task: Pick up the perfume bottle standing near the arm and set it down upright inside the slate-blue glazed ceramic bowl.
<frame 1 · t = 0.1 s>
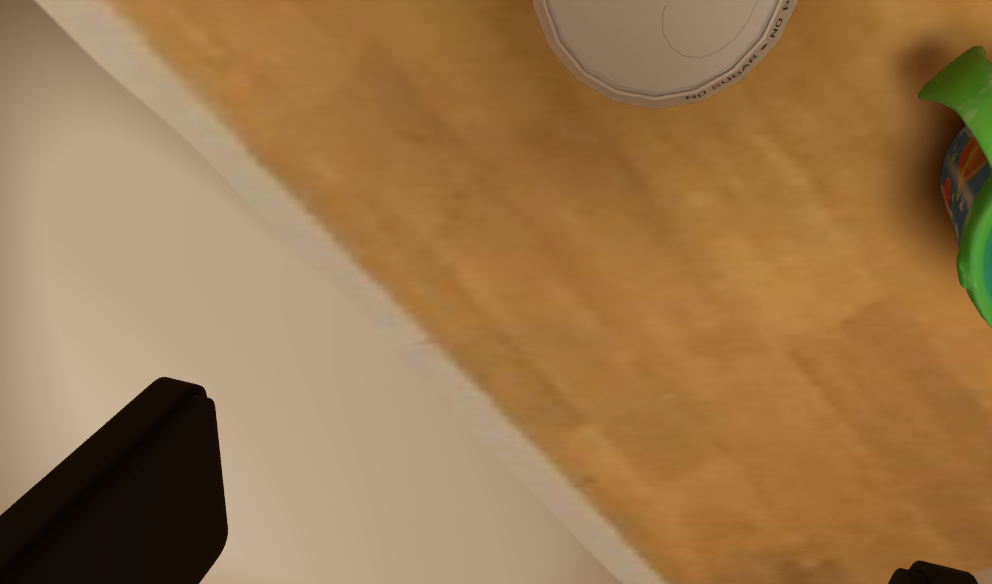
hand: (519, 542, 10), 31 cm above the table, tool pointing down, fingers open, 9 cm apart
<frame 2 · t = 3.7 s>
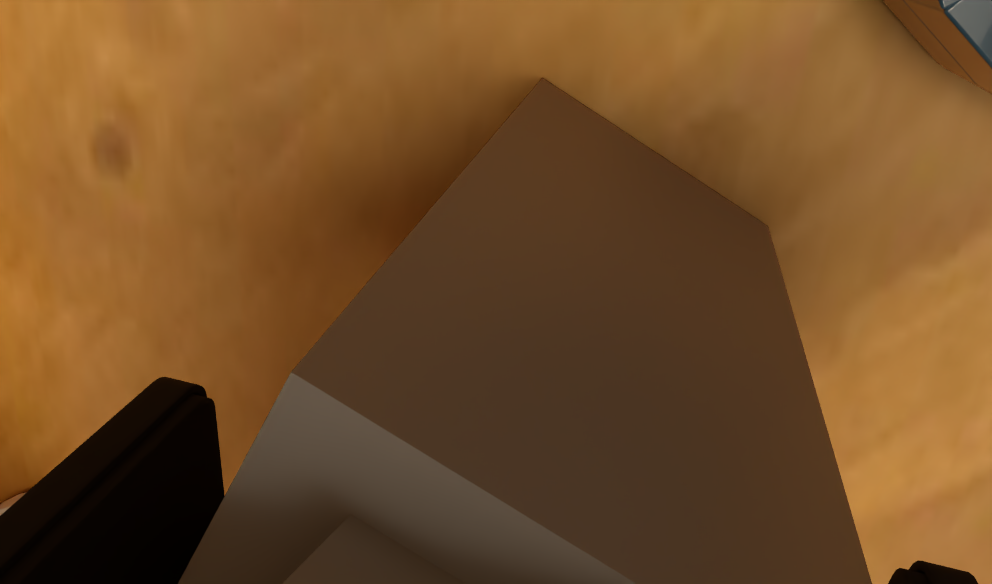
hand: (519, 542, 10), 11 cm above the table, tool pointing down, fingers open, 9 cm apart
perfume bottle: (582, 251, 20), on the table
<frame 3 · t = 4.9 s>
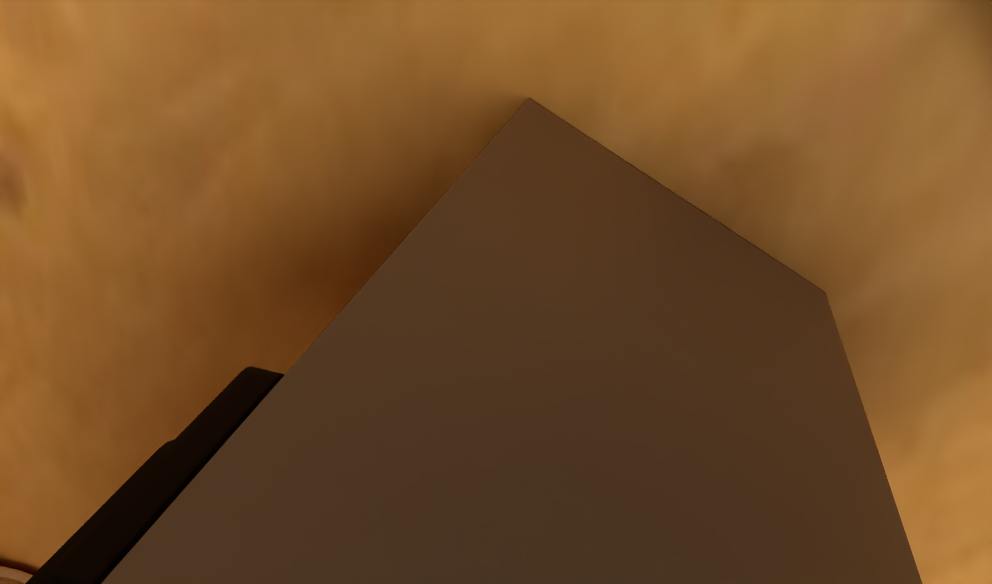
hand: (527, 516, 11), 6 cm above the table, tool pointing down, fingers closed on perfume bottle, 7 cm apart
perfume bottle: (582, 316, 16), on the table, touching gripper
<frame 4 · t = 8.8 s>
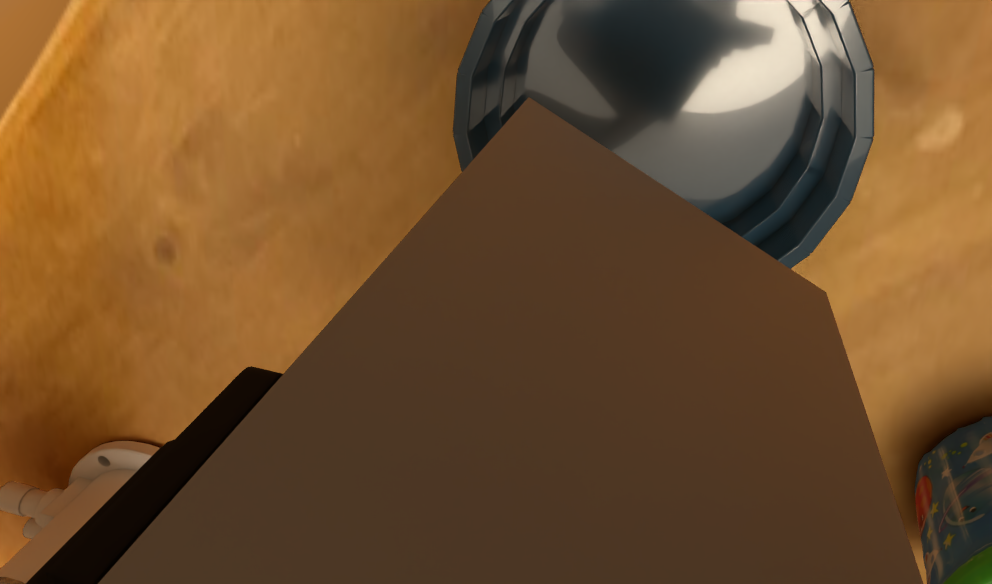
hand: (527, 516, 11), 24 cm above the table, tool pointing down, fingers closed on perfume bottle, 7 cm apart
perfume bottle: (582, 315, 16), point 18 cm above the table, touching gripper
bowl: (656, 100, 30), on the table
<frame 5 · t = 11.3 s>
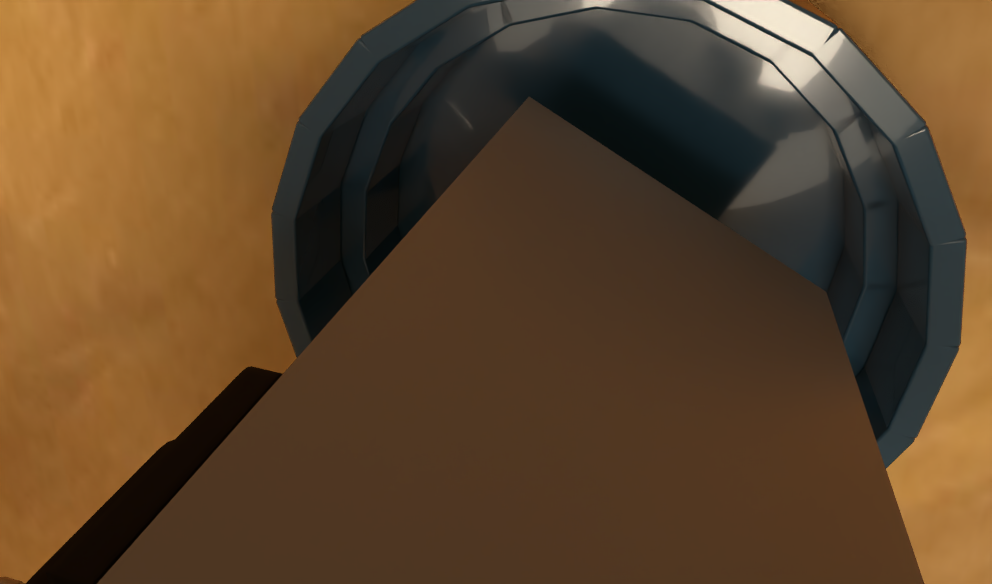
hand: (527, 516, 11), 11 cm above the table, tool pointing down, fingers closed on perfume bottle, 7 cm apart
perfume bottle: (582, 315, 16), point 5 cm above the table, touching gripper
bowl: (608, 225, 20), on the table
when the fingers open (6 cm above the table, at t = 13.1 s): perfume bottle stays where it is, resting on bowl.
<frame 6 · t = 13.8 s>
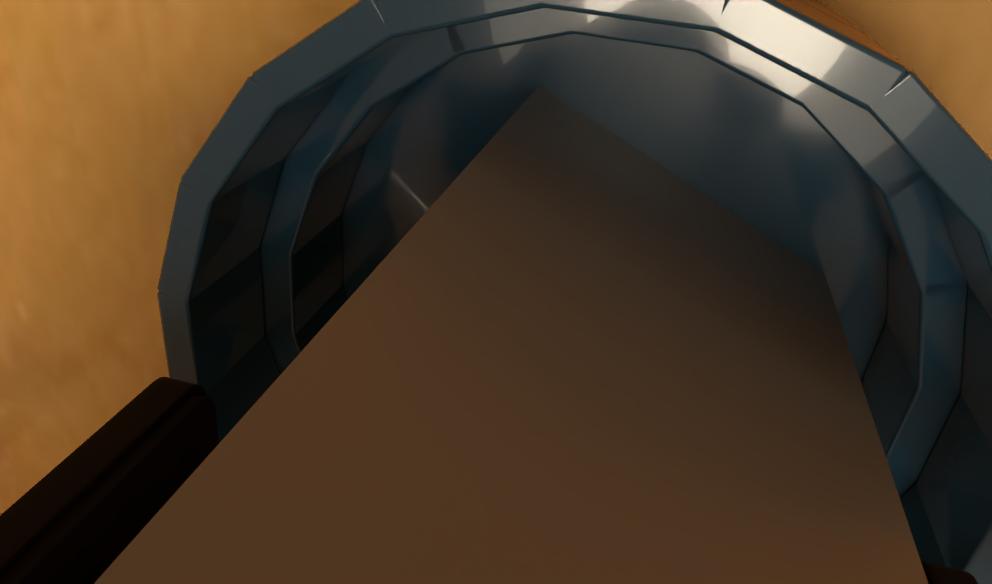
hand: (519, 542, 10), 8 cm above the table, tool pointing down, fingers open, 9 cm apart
perfume bottle: (590, 297, 16), resting on bowl
bowl: (594, 287, 17), on the table
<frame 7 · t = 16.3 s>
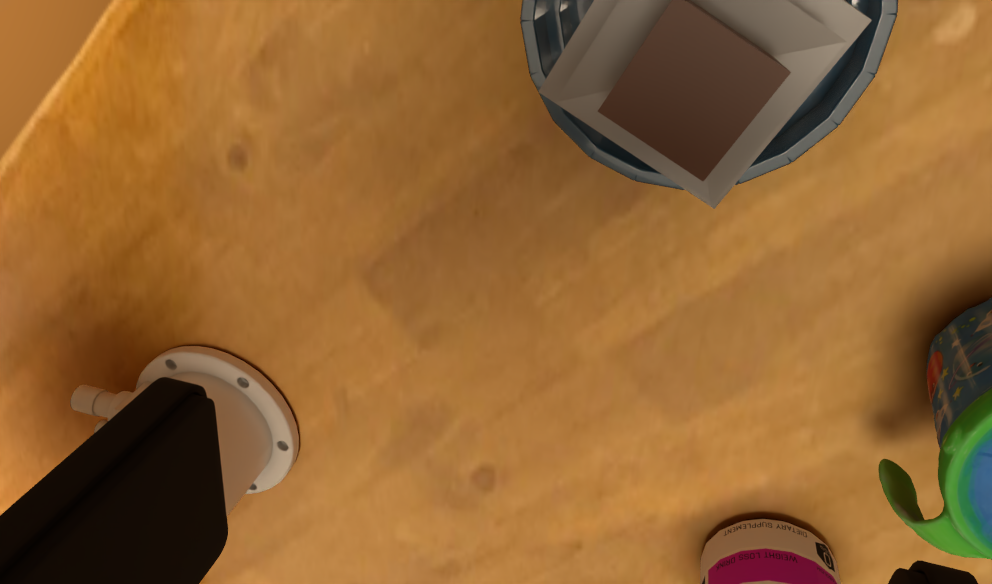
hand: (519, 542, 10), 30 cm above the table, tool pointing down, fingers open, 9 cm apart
perfume bottle: (697, 2, 34), resting on bowl
bowl: (698, 1, 34), on the table
supplement can: (766, 557, 48), on the table
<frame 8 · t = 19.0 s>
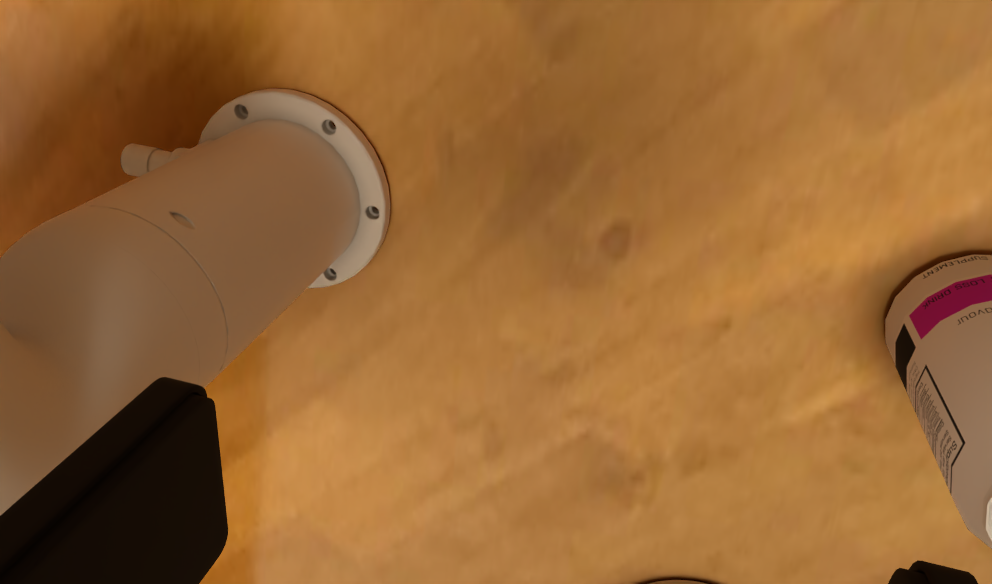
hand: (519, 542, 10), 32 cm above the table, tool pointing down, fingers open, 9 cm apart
supplement can: (964, 316, 40), on the table
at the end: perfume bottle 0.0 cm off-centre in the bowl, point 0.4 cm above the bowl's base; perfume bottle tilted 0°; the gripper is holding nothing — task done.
